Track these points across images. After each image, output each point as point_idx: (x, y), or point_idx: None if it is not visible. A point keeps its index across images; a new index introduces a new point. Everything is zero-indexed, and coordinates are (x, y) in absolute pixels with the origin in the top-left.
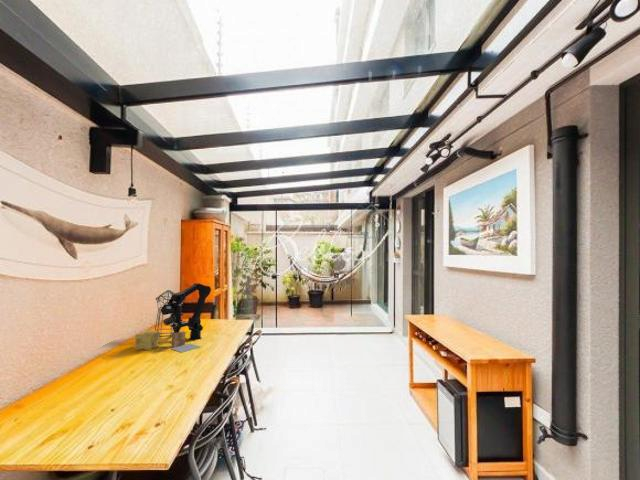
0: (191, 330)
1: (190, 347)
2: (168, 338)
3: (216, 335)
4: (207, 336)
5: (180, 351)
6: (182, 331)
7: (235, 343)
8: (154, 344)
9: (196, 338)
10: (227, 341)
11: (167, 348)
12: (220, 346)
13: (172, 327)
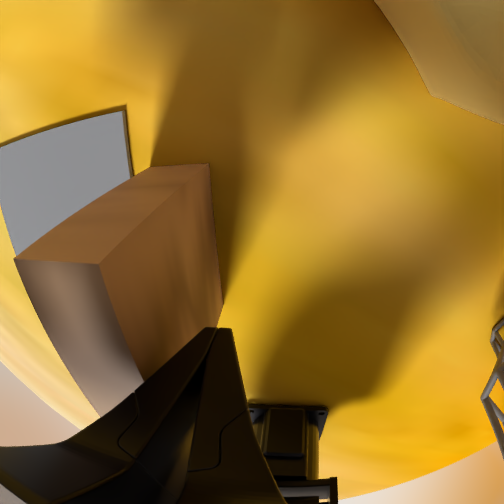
0: (303, 478)
1: None
2: (501, 321)
3: None
4: None
5: (3, 152)
6: None
7: (48, 405)
8: (396, 4)
9: (252, 423)
10: (90, 421)
11: (186, 94)
12: (25, 360)
13: (269, 497)
